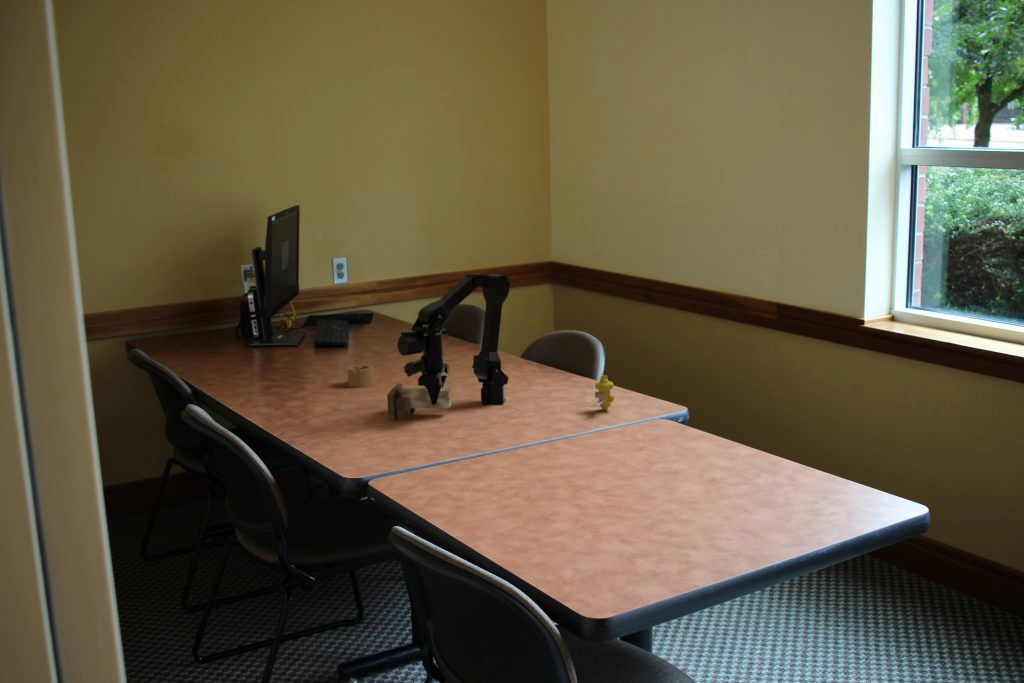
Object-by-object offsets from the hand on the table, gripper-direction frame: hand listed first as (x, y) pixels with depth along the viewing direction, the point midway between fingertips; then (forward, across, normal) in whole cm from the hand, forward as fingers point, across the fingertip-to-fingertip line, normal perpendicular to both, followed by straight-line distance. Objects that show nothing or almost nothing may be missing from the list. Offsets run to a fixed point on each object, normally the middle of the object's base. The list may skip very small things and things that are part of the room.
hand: (435, 402), depth 292 cm
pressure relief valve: (+4, -3, +48) cm, 48 cm away
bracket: (+4, -42, -32) cm, 53 cm away
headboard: (+4, 0, -10) cm, 10 cm away
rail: (+1, 0, -3) cm, 3 cm away
